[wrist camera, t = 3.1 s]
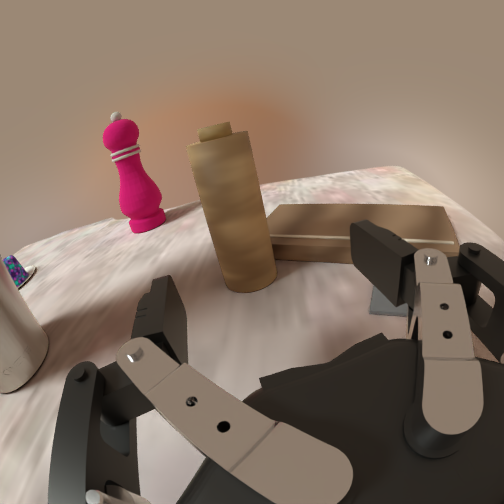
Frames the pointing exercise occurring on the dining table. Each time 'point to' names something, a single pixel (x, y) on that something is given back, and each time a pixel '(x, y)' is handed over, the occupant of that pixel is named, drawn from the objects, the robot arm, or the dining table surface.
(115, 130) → the pepper mill
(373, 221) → the walnut board
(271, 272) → the tan tall cylinder
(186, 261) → the dining table surface
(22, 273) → the blue patterned hat
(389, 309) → the grey flat slab
